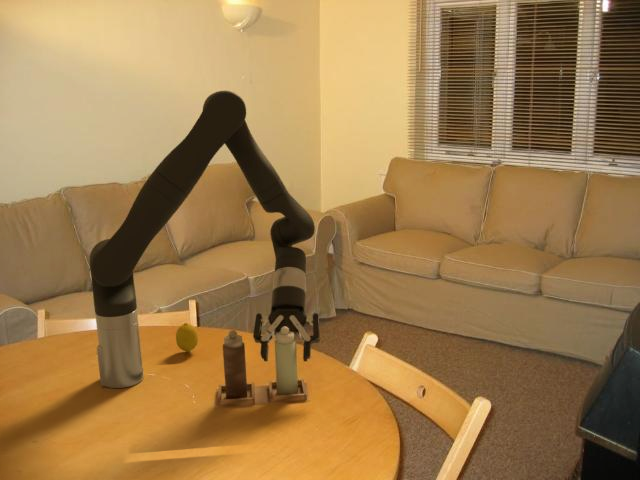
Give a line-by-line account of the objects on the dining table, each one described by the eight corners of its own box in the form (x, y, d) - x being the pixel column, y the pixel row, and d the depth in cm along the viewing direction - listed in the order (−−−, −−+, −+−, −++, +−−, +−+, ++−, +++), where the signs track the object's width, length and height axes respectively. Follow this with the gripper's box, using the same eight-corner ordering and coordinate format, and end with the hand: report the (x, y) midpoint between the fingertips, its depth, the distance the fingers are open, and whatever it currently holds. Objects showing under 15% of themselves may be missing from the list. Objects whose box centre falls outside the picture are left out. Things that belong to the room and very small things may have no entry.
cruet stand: (215, 413, 152) (214, 402, 152) (216, 394, 161) (216, 384, 161) (310, 405, 154) (309, 395, 154) (306, 387, 163) (306, 377, 162)
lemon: (201, 348, 187) (199, 319, 185) (196, 357, 182) (193, 327, 180) (180, 348, 187) (178, 318, 185) (174, 356, 182) (171, 326, 180)
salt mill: (277, 398, 156) (274, 331, 152) (276, 388, 160) (273, 323, 156) (298, 396, 156) (296, 329, 152) (297, 387, 161) (294, 322, 157)
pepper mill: (225, 402, 154) (221, 335, 151) (226, 392, 159) (221, 327, 155) (247, 400, 155) (243, 333, 151) (247, 391, 159) (243, 325, 156)
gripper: (255, 284, 160) (249, 353, 152) (319, 284, 159) (317, 353, 151) (259, 299, 167) (254, 366, 158) (321, 299, 166) (319, 366, 157)
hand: (285, 360), depth 155 cm, fingers open, 8 cm apart
